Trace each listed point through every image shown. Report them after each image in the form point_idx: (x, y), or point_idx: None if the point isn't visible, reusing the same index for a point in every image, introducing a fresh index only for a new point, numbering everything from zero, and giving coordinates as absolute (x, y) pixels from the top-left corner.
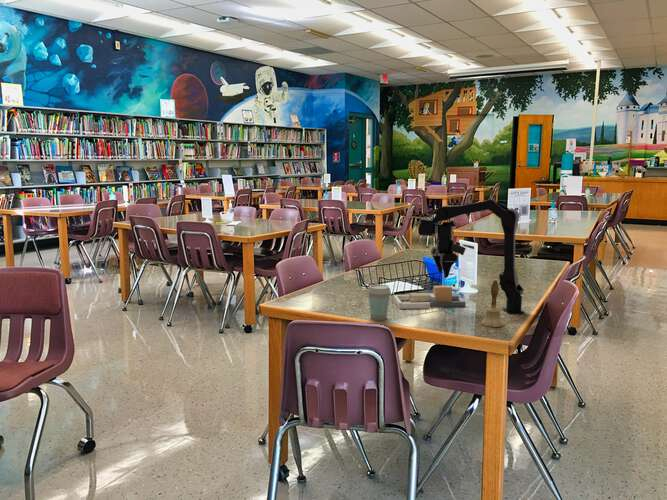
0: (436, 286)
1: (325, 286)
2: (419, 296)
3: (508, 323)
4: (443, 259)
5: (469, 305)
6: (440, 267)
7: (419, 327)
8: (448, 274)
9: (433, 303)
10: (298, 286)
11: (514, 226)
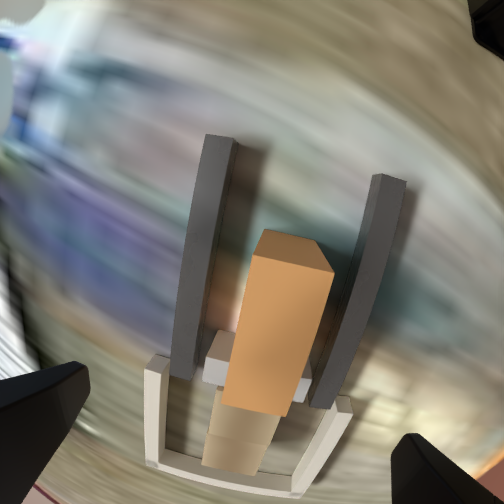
0: (245, 392)
1: None
2: (265, 447)
3: None
4: None
5: (377, 140)
6: (43, 423)
7: (492, 457)
8: (441, 456)
9: (338, 385)
10: (42, 494)
11: None
